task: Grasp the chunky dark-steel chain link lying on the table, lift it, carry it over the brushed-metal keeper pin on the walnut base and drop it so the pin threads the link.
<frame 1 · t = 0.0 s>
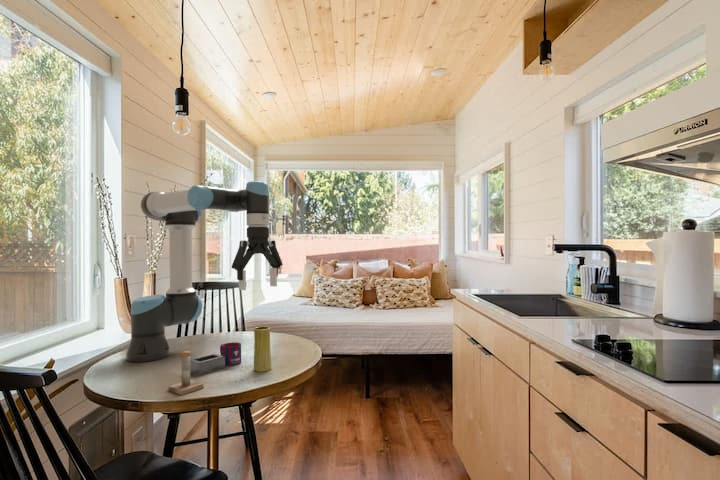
hand: (258, 288, 143), 28 cm above the table, fingers open, 13 cm apart
link: (206, 369, 143), on the table
mug: (229, 362, 152), on the table
keeper post: (186, 389, 124), on the table
vase: (262, 369, 142), on the table
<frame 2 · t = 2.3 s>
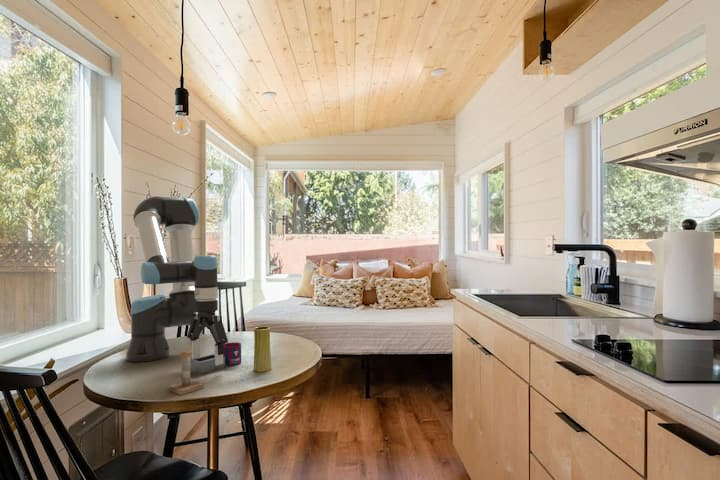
hand: (207, 361, 142), 3 cm above the table, fingers open, 13 cm apart
nothing on the table moved.
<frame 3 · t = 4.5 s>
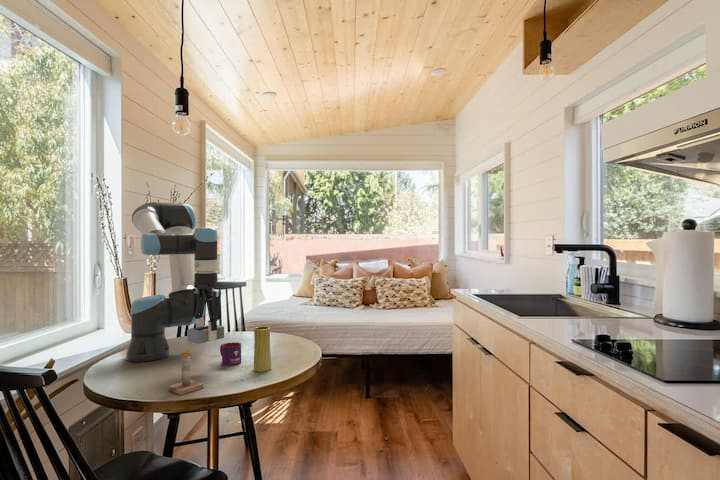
hand: (206, 338, 143), 11 cm above the table, fingers closed on link, 6 cm apart
link: (206, 339, 143), point 10 cm above the table, touching gripper
everything else where it was.
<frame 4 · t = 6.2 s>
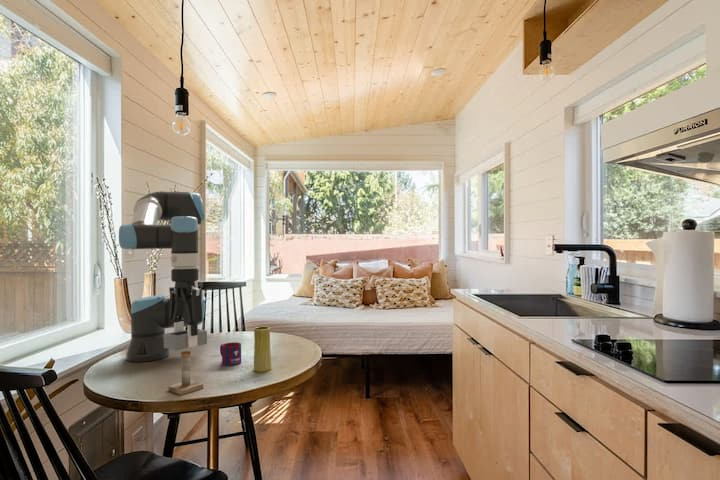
hand: (185, 344, 124), 13 cm above the table, fingers closed on link, 6 cm apart
link: (185, 345, 124), point 13 cm above the table, touching gripper
everything else where it was.
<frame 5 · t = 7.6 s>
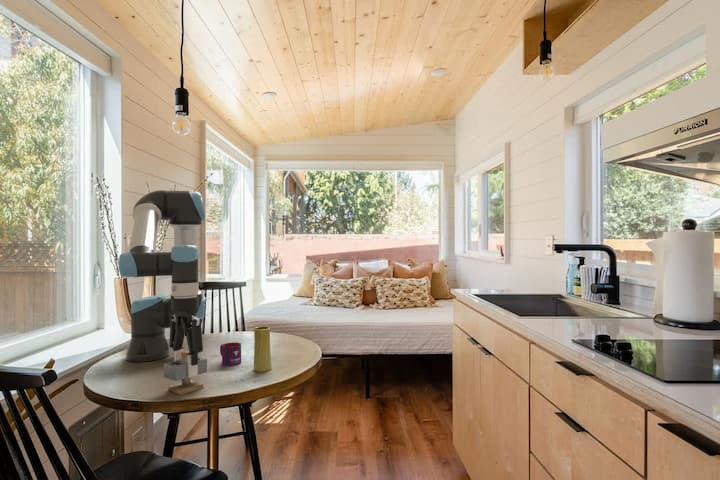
hand: (185, 373, 124), 5 cm above the table, fingers closed on link, 6 cm apart
link: (185, 374, 124), point 4 cm above the table, touching gripper
everything else where it was.
when the fingers open (2 cm above the table, at t = 8.4 s): link stays where it is, resting on keeper post.
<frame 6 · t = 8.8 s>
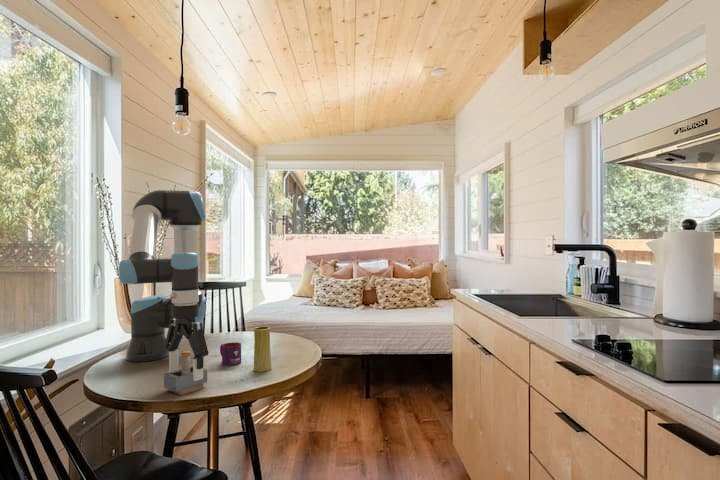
hand: (185, 375, 124), 4 cm above the table, fingers open, 12 cm apart
link: (186, 384, 124), point 1 cm above the table, touching keeper post
everything else where it was.
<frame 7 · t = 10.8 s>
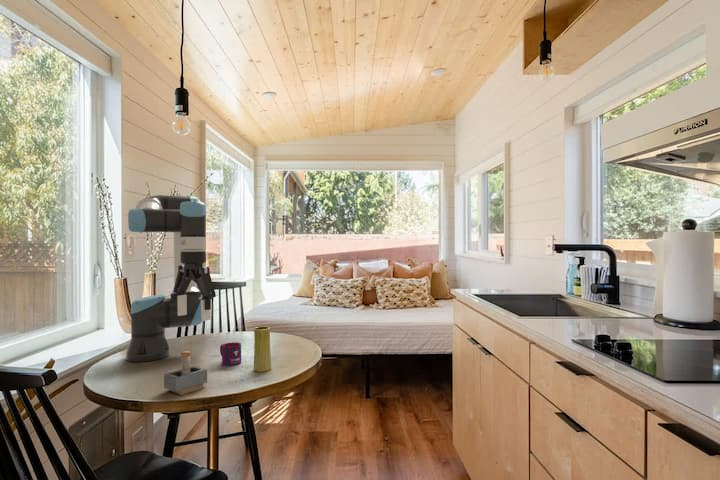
hand: (193, 317, 131), 20 cm above the table, fingers open, 13 cm apart
nothing on the table moved.
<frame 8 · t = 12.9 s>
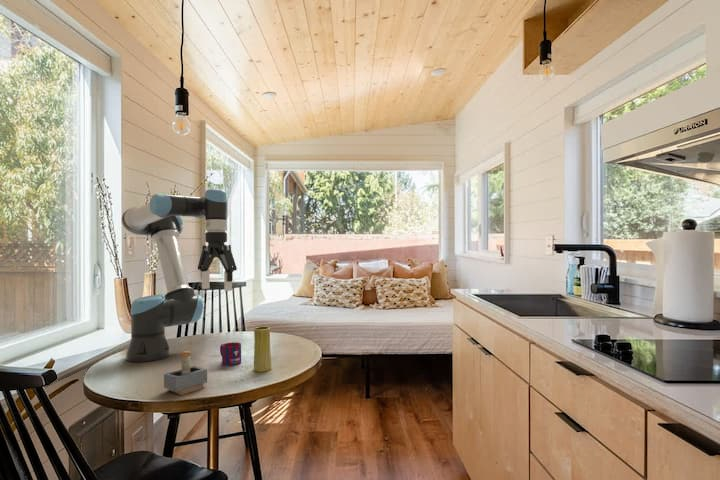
hand: (216, 289, 151), 27 cm above the table, fingers open, 13 cm apart
nothing on the table moved.
at the end: link 0.1 cm from the keeper post (horizontally); link point 1.2 cm above the table; the gripper is holding nothing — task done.
